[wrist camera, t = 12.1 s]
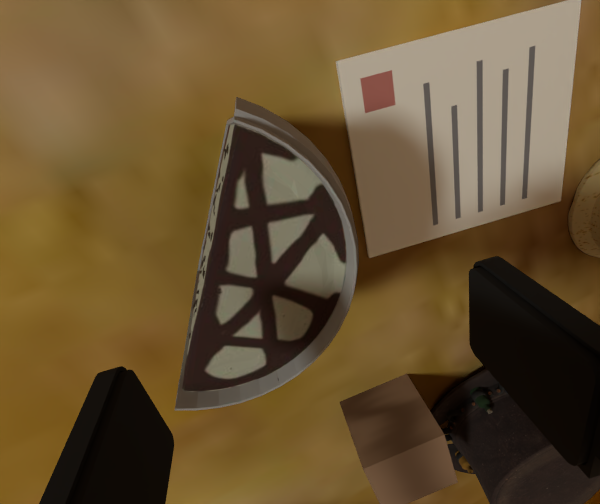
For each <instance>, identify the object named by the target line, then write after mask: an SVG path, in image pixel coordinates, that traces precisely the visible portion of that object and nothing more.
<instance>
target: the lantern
mask: <svg viewBox="0 0 600 504" xmlns="http://www.w3.org/2000/svg"><path fill="white" fill-rule="evenodd" d="M568 228H569V232H570V236H571V238H572V240H573V242H574V243H575V245H576V246H577V247H578V249H580V250H581V251H582V252H584V253H586V254H588V255H590V256H595V257H599V258H600V159H599V160H598V161H597V162H596V163H595V164H594V165H593V166H592V167H591V169H590V170H589V171H588V172H587V173H586V175H585V176H584V178H583V179H582V181H581V182H580V184H579V185H578V187H577V190H576V193H575V197H574V200H573V203H572V206H571V208H570V210H569V213H568Z"/></svg>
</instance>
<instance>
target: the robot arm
mask: <svg viewBox="0 0 600 504" xmlns="http://www.w3.org/2000/svg"><path fill="white" fill-rule="evenodd" d="M469 327H470V346H471V349H472V351H473V353H474V354H475V356H476V357H477V358H478V359H479V360H480V362H481V363H482V364H483V365H484V366H485V367H486V369H487V370H488V371H489V372H490V373H491V374H492V375H493V377H494V378H495V379H496V380H497V381H498V382H499V384H500V385H501V386H502V387H503V388H504V389H505V391H506V392H507V393H508V394H509V395H510V396H511V398H512V399H513V400H514V401H515V402H516V403H517V405H518V406H519V407H520V408H521V409H522V410H523V412H524V413H525V414H526V415H527V416H528V417H529V419H530V420H531V421H532V422H533V423H534V424H535V426H536V427H537V428H538V429H539V430H540V431H541V433H542V434H543V435H544V436H545V437H546V438H547V440H548V441H549V442H550V443H551V444H552V445H553V446H554V448H555V449H556V450H557V451H558V452H559V453H560V455H561V456H562V457H563V458H564V459H565V460H566V461H567V462H568V463H569V464H571V465H573V466H578V467H579V468H580V469H581V470H582V471H583V472H584V474H585V475H586V476H587V477H588V478H589V479H590V478H593V477H596V476H599V475H600V326H599V325H598V324H596V323H595V322H593V321H592V320H591V319H589V318H588V317H586V316H585V315H583V314H582V313H580V312H579V311H577V310H576V309H575V308H573V307H572V306H570V305H569V304H567V303H566V302H564V301H563V300H562V299H560V298H559V297H557V296H556V295H554V294H553V293H551V292H550V291H549V290H547V289H546V288H544V287H543V286H541V285H540V284H538V283H537V282H535V281H534V280H533V279H531V278H530V277H528V276H527V275H525V274H524V273H522V272H521V271H520V270H518V269H517V268H515V267H514V266H512V265H511V264H509V263H508V262H507V261H505V260H504V259H502V258H500V257H498V256H495V257H492V258H488V259H485V260H481V261H478V262H476V263H475V264H474V268H473V269H471V270H470V271H469ZM173 449H174V440H173V436H172V433H171V431H170V430H169V428H168V426H167V425H166V423H165V421H164V420H163V418H162V417H161V415H160V413H159V412H158V410H157V408H156V407H155V405H154V404H153V402H152V400H151V399H150V397H149V395H148V394H147V392H146V391H145V389H144V387H143V386H142V384H141V382H140V381H139V379H138V378H137V376H136V374H135V373H134V372H133V371H132V370H126V368H124V367H117V368H114V369H110V370H107V371H103V372H100V373H98V374H97V376H96V377H95V379H94V381H93V384H92V386H91V388H90V390H89V393H88V395H87V397H86V399H85V402H84V404H83V406H82V408H81V411H80V413H79V415H78V417H77V420H76V422H75V424H74V426H73V429H72V431H71V433H70V435H69V438H68V440H67V442H66V444H65V447H64V449H63V451H62V453H61V456H60V458H59V460H58V463H57V465H56V467H55V469H54V472H53V474H52V476H51V478H50V481H49V483H48V485H47V487H46V490H45V492H44V494H43V496H42V499H41V501H40V503H39V504H165V502H166V495H167V489H168V482H169V476H170V469H171V463H172V456H173Z"/></svg>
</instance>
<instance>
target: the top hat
mask: <svg viewBox="0 0 600 504" xmlns="http://www.w3.org/2000/svg"><path fill="white" fill-rule="evenodd" d="M431 414H432V415H433V417H434V419H435V420H436V422H437V423H438V425H439V426H440V425H441V424H442V423H444V422H445V421H447V420H449V422H448V428H444V429H441V430H442V431H443V433H444V435H445V434H449V435H445V438H446V441H449V440H452V442H453V444H447V446H448V449H449V453H450V456H451V460H452V464H453V467H454V469H455V470H457V471H460V472H465V473H469V474H476V476H477V478H478V480H479V482H480V484H481V486H482V488H483V490H484V492H485V494H486V496H487V498H488V500H489V502H490V504H584V503H585V502H586V501H588V500H589V499H590V498H591V497H592V496H593V495H594V494H595V493H596V492H597V491H598V490H599V489H600V475H599V476H596V477H593V478H590V479H589V478H588V477H587V476H586V475H585V474H584V472H583V471H582V470H581V469H580V468H579V467H578V466H573V465H571V464H569V463H568V462H567V461H566V460H565V459H564V458H563V457H562V456H561V455H560V453H559V452H558V451H557V450H556V449H555V448H554V446H553V445H552V444H551V443H550V442H549V441H548V440H547V438H546V437H545V436H544V435H543V434H542V433H541V431H540V430H539V429H538V428H537V427H536V426H535V424H534V423H533V422H532V421H531V420H530V419H529V417H528V416H527V415H526V414H525V413H524V412H523V410H522V409H521V408H520V407H519V406H518V405H517V403H516V402H515V401H514V400H513V399H512V398H511V396H510V395H509V394H508V393H507V392H506V391H505V389H504V388H503V387H502V386H501V385H500V384H499V382H498V381H497V380H496V379H495V378H494V377H493V375H492V374H491V373H490V372H489V371H488V370H487V369H485V370H483V371H481V372H479V373H477V374H476V375H474V376H472V377H470V378H469V379H467V380H465V381H464V382H463V383H461V384H460V385H458V386H457V387H455V388H454V389H453V390H451V391H450V392H449V393H448V394H447V395H446V396H445V397H443V398H442V399H441V400H440V402H439V403H438V404H437V405H436V406H435V407H434V409H433V410H432V411H431Z"/></svg>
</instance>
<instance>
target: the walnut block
mask: <svg viewBox="0 0 600 504" xmlns="http://www.w3.org/2000/svg"><path fill="white" fill-rule="evenodd" d="M340 405H341V407H342V410H343V413H344V416H345V419H346V422H347V425H348V427H349V430H350V433H351V436H352V439H353V442H354V444H355V447H356V450H357V453H358V456H359V459H360V461H361V464H362V467H363V470H364V472H365V474H366V476H367V478H368V480H369V482H370V484H371V486H372V488H373V491H374V493H375V495H376V497H377V499H378V501H379V503H380V504H408V503H410V502H412V501H415V500H417V499H419V498H422V497H424V496H427V495H429V494H431V493H434V492H436V491H438V490H441V489H443V488H445V487H448V486H450V485H452V484H455V483H457V482H458V481H457V478H456V474H455V471H454V467H453V464H452V460H451V456H450V453H449V449H448V446H447V442H446V438H445V435H444V433H443V431H442V430H441V428H440V427H439V425H438V423H437V422H436V420H435V419H434V417H433V415H432V414H431V412H430V410H429V409H428V407H427V406H426V404H425V402H424V401H423V399H422V397H421V396H420V394H419V393H418V391H417V389H416V388H415V386H414V384H413V383H412V381H411V380H410V378H409V376H408V375H407V374H405V375H403V376H400V377H398V378H395V379H393V380H391V381H388V382H386V383H384V384H381V385H379V386H376V387H374V388H372V389H369V390H367V391H365V392H362V393H360V394H358V395H355V396H353V397H350V398H348V399H346V400H343V401H341V402H340Z"/></svg>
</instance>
